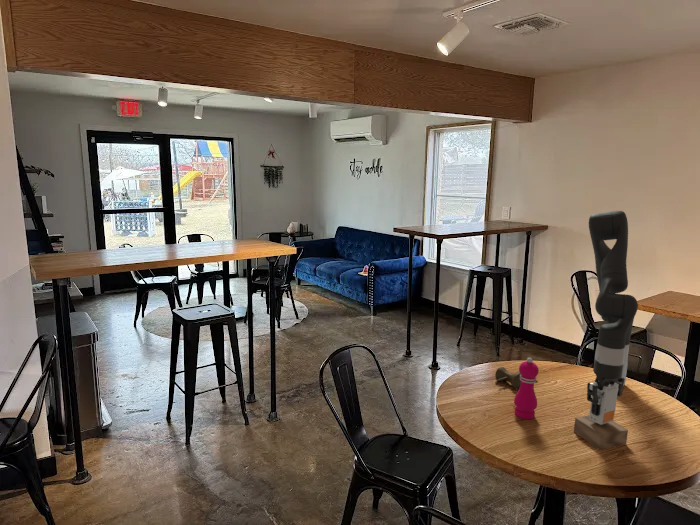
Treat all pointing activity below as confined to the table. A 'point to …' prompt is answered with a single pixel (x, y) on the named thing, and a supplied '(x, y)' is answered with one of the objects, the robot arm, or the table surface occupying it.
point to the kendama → (508, 377)
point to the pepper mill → (526, 390)
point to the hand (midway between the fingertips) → (602, 412)
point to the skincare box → (606, 405)
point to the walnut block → (600, 433)
